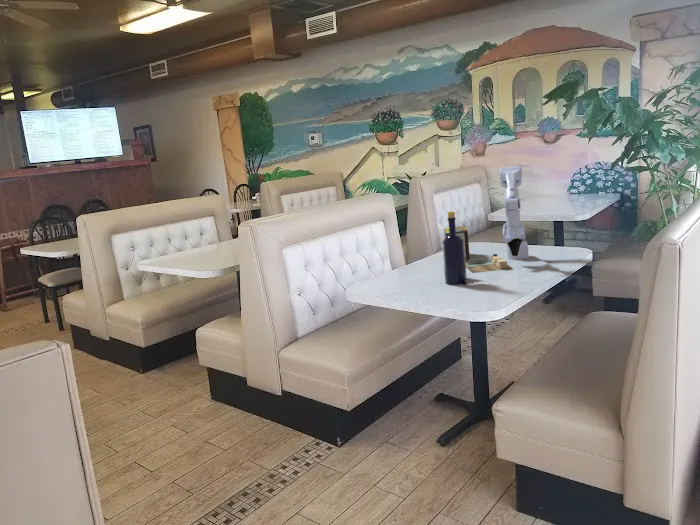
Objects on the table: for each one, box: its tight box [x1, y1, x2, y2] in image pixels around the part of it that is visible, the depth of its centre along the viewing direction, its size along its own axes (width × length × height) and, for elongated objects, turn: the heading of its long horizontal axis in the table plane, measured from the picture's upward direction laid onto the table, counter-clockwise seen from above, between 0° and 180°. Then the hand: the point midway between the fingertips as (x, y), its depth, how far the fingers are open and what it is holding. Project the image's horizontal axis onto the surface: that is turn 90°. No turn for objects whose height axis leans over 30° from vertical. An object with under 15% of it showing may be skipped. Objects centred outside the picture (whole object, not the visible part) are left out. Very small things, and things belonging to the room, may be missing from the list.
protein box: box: [443, 225, 471, 261], centre depth 278 cm, size 10×15×16 cm
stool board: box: [466, 261, 514, 274], centre depth 254 cm, size 18×18×1 cm
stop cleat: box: [467, 258, 487, 265], centre depth 261 cm, size 8×1×2 cm, turn 92°
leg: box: [490, 253, 508, 270], centre depth 252 cm, size 14×3×4 cm, turn 2°
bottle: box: [442, 210, 468, 286], centre depth 234 cm, size 9×9×30 cm
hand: (515, 255), depth 249 cm, fingers closed
